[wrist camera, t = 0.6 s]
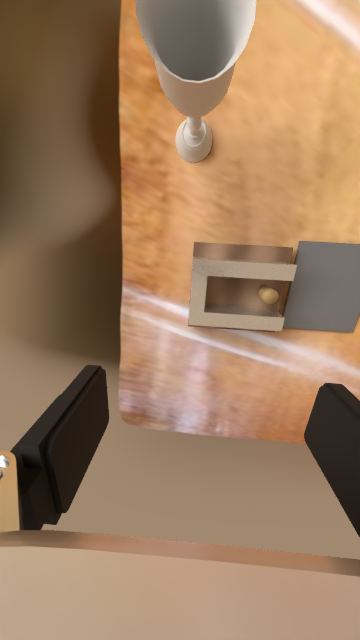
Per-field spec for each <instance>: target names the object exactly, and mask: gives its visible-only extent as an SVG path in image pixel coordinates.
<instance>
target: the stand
mask: <svg viewBox="0 0 360 640" xmlns="http://www.w3.org/2000/svg"><path fill="white" fill-rule="evenodd" d="M292 251H293V248H288V247H271V246H253V245H235V244H217V243H199V242H194V252H193V257H207V258H224V259H241V260H258V261H275V262H285V263H290V260H291V256H292ZM192 267H193V266H192ZM191 281H192V280H191ZM285 283H286V281H283V280H267V279H251V278H235V277H218V276H207V286H206V297H205V304H217V305H232V306H247V307H262V308H274V309H275V310H276V311H277V312H278V313H279V310H280V305H281V301H282V296H283V292H284V287H285ZM190 296H191V294H190ZM189 310H190V308H189ZM188 326H193V327H207V328H221V329H236V330H250V331H264V332H275V331H270V330H256V329H242V328H227V327H213V326H199V325H189V323H188Z"/></svg>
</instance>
